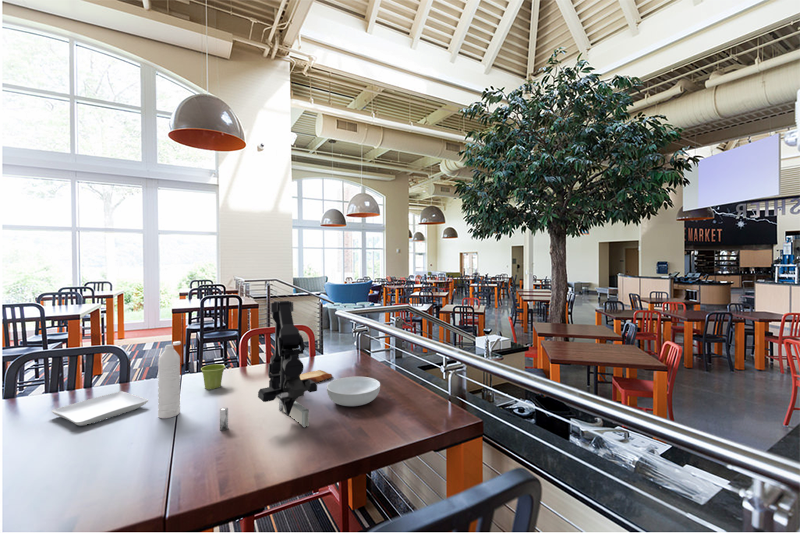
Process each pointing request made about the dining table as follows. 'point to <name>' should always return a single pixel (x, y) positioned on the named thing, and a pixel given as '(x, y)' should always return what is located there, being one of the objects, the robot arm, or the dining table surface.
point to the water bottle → (169, 382)
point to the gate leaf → (299, 414)
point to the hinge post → (280, 405)
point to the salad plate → (100, 408)
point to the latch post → (223, 418)
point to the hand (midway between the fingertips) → (287, 415)
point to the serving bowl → (353, 390)
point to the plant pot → (213, 375)
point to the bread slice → (315, 376)
